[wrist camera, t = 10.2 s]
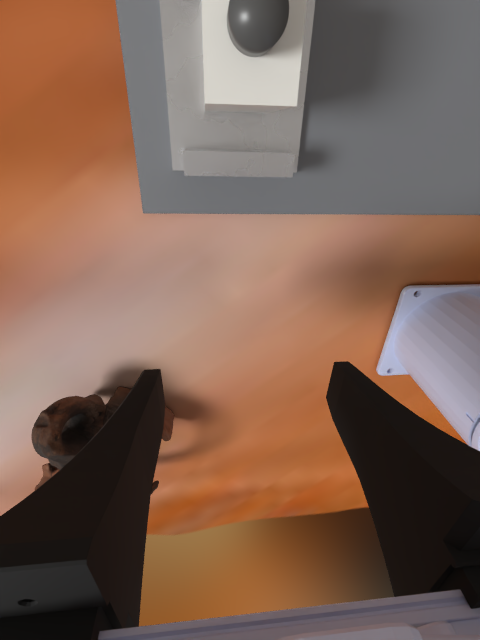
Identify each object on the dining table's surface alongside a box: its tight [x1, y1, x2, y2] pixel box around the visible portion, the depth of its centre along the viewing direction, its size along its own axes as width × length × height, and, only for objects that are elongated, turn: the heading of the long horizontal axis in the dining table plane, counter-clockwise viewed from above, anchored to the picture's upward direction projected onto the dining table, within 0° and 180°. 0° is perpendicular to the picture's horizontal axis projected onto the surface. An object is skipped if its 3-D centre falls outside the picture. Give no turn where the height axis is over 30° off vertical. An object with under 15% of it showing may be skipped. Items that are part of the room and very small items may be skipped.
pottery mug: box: [32, 387, 174, 494], centre depth 24 cm, size 12×9×8 cm
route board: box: [116, 0, 480, 215], centre depth 16 cm, size 22×12×1 cm, turn 88°
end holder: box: [159, 0, 315, 177], centre depth 14 cm, size 6×8×2 cm
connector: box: [201, 0, 307, 113], centre depth 11 cm, size 3×4×6 cm
